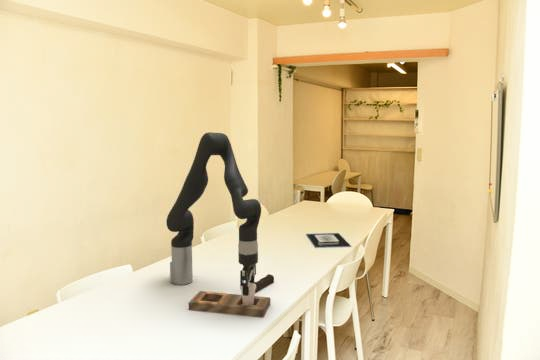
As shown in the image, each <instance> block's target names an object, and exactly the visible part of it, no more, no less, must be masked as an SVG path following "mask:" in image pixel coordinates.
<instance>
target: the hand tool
mask: <svg viewBox="0 0 540 360" xmlns="http://www.w3.org/2000/svg"><path fill="white" fill-rule="evenodd" d="M274 282H275V277H274V275H272V274H266V276H264V277H262V278H260V279H259V280H258V281H254V284H256V289H255V294H257V293H258V291H259V290H261V289H263V288H264V287H266V286H268V285H269V284H273V283H274Z"/></svg>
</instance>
